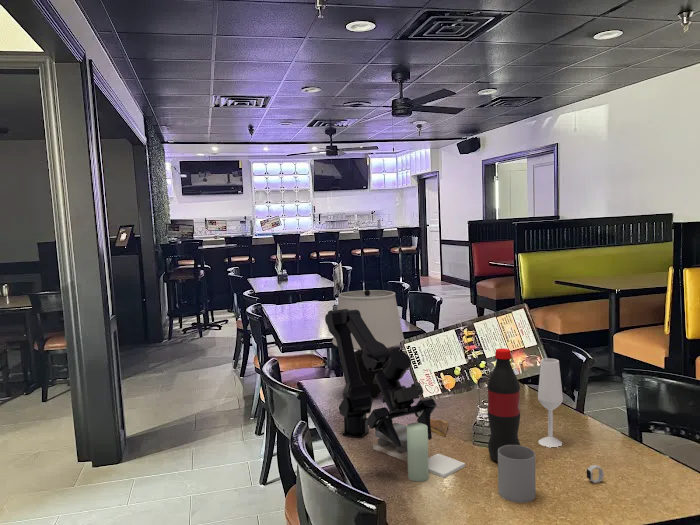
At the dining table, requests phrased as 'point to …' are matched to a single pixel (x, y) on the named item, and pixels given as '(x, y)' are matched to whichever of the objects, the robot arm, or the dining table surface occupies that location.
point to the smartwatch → (590, 473)
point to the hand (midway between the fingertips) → (415, 442)
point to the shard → (439, 426)
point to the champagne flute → (550, 396)
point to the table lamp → (373, 324)
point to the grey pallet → (389, 447)
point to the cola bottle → (503, 404)
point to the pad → (443, 465)
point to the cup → (516, 473)
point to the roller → (417, 452)
